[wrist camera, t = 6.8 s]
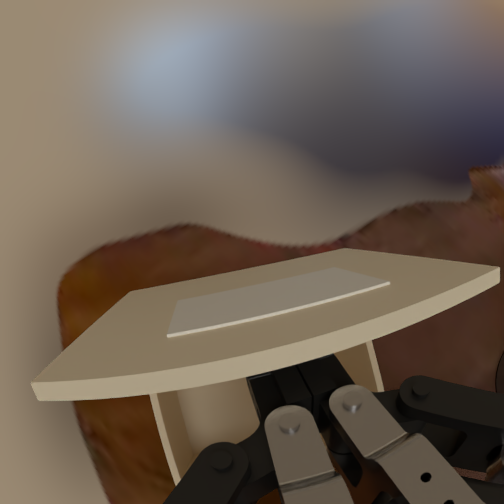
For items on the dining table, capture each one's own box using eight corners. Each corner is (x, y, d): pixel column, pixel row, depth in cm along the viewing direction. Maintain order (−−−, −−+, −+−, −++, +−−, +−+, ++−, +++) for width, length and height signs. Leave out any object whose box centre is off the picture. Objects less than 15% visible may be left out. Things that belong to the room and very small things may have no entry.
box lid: (346, 255, 22) (344, 246, 22) (499, 282, 8) (499, 264, 8) (132, 299, 20) (130, 290, 20) (38, 400, 6) (28, 379, 6)
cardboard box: (317, 284, 30) (345, 256, 22) (352, 415, 25) (392, 428, 18) (157, 318, 27) (132, 299, 20) (190, 457, 23) (176, 488, 15)
